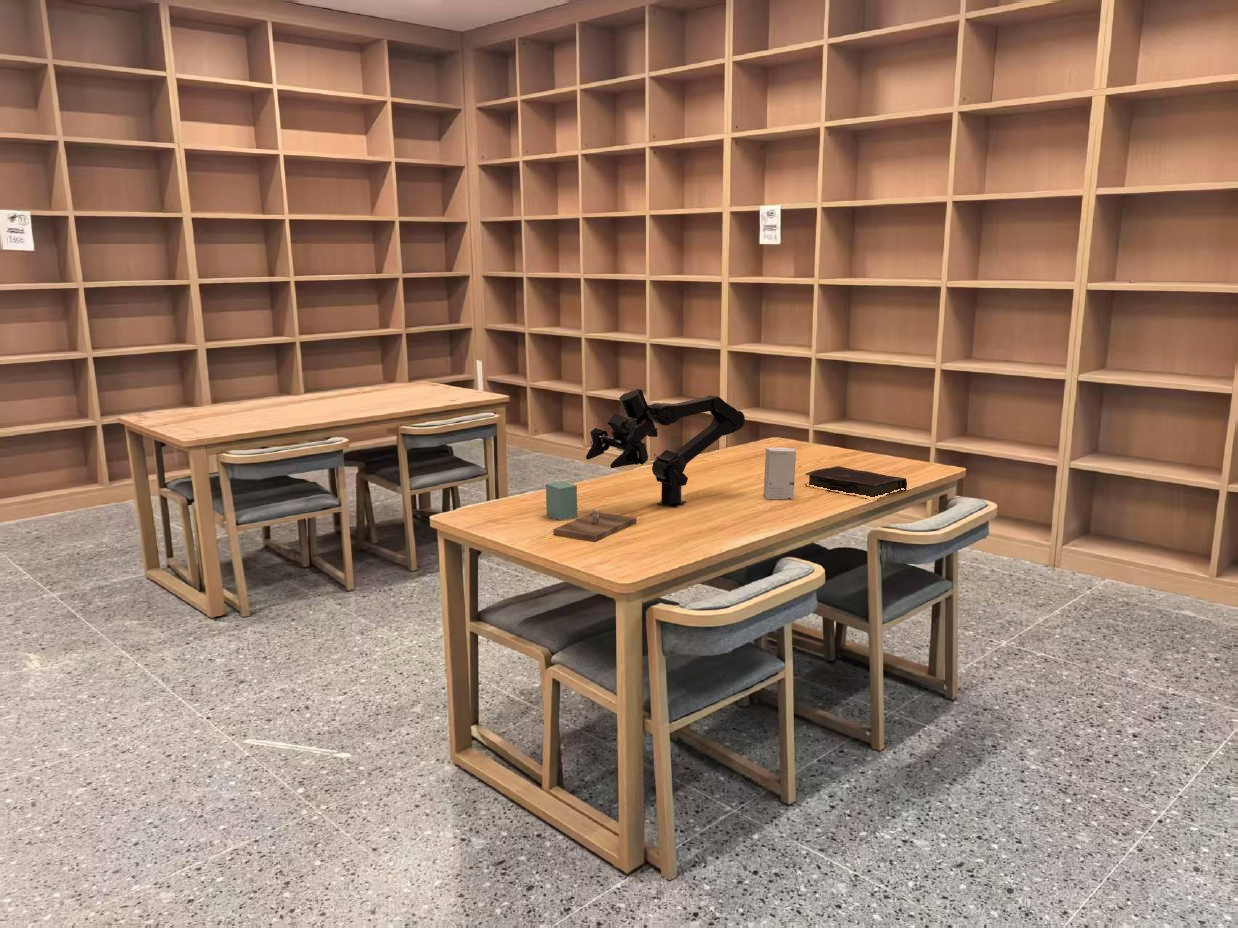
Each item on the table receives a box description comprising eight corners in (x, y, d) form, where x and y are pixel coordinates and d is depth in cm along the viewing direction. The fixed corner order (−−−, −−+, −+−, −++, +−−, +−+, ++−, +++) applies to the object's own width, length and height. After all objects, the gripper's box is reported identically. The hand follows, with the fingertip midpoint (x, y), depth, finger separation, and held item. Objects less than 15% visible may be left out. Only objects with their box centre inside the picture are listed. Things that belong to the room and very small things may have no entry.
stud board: (595, 517, 256) (595, 498, 255) (636, 523, 250) (635, 504, 249) (553, 534, 240) (553, 515, 238) (595, 541, 233) (595, 521, 232)
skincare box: (766, 500, 273) (768, 450, 270) (763, 495, 279) (764, 446, 276) (795, 499, 274) (796, 450, 271) (790, 494, 280) (792, 446, 277)
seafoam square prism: (563, 512, 262) (562, 481, 260) (577, 517, 256) (576, 485, 254) (546, 515, 258) (545, 484, 257) (560, 520, 253) (559, 488, 251)
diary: (838, 479, 302) (839, 464, 301) (906, 493, 284) (907, 477, 283) (802, 488, 290) (803, 472, 289) (871, 502, 272) (872, 485, 271)
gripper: (605, 400, 260) (567, 430, 251) (655, 415, 248) (617, 446, 239) (613, 433, 266) (577, 463, 258) (663, 448, 254) (626, 480, 246)
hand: (598, 462), depth 250 cm, fingers open, 9 cm apart
